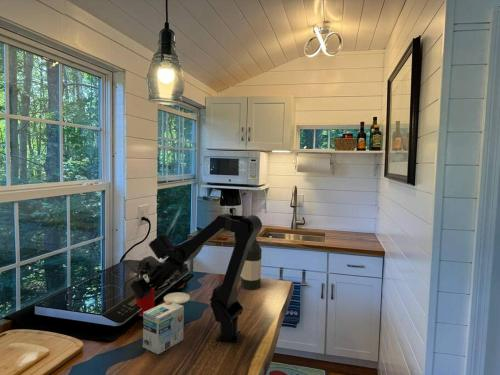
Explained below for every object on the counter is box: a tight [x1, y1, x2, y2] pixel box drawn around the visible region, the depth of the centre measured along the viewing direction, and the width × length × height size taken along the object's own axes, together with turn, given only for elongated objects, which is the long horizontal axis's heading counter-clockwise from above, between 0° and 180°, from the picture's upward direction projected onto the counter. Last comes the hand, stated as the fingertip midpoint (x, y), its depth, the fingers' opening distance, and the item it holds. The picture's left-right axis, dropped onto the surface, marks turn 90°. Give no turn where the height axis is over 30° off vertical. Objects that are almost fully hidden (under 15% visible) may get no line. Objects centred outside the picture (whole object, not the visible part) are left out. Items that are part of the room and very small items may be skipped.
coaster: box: [163, 292, 191, 305], centre depth 138 cm, size 10×10×1 cm
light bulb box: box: [142, 301, 185, 355], centre depth 105 cm, size 11×7×11 cm, turn 148°
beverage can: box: [135, 278, 155, 317], centre depth 124 cm, size 6×6×12 cm
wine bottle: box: [240, 238, 263, 291], centre depth 153 cm, size 8×8×30 cm
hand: (142, 294), depth 124 cm, fingers closed on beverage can, 6 cm apart
